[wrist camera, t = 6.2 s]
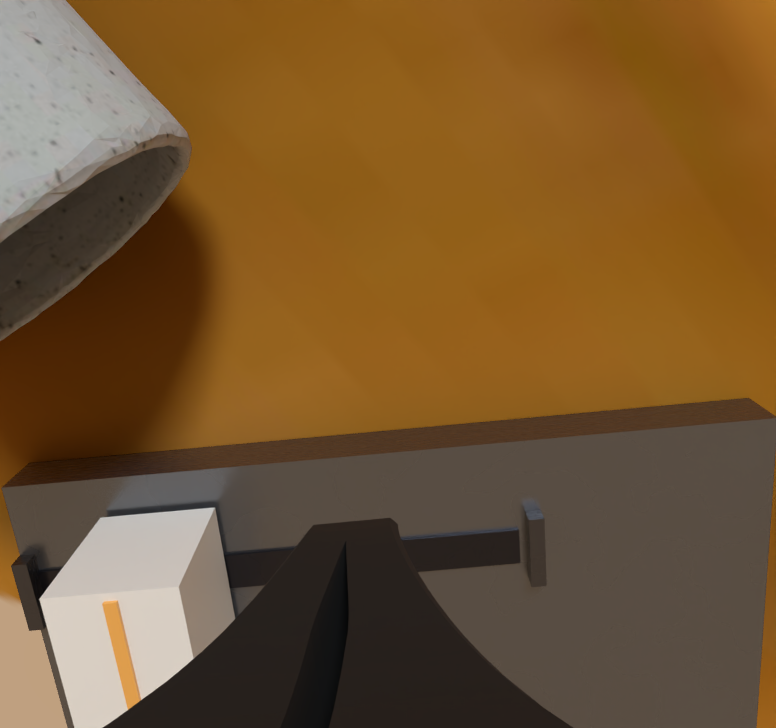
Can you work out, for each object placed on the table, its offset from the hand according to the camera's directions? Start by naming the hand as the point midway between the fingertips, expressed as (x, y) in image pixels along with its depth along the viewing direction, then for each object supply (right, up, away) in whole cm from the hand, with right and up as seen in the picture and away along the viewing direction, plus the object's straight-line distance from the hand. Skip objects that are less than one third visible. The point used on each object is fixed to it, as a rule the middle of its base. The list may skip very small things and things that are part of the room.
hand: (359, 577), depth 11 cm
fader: (-5, -2, +8) cm, 10 cm away
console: (+1, -5, +10) cm, 11 cm away
